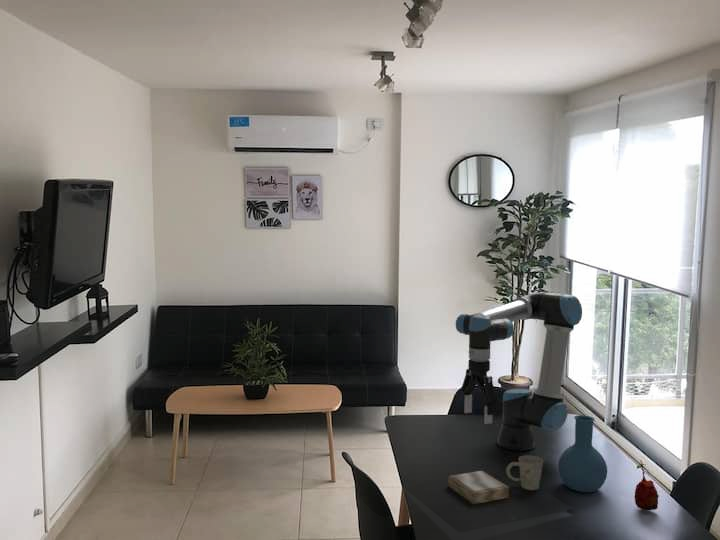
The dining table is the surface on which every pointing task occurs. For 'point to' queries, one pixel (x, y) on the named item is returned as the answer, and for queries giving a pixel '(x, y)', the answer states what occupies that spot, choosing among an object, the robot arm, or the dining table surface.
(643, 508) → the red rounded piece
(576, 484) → the vase
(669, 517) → the dining table surface
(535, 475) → the mug
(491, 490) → the plinth
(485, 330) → the robot arm
